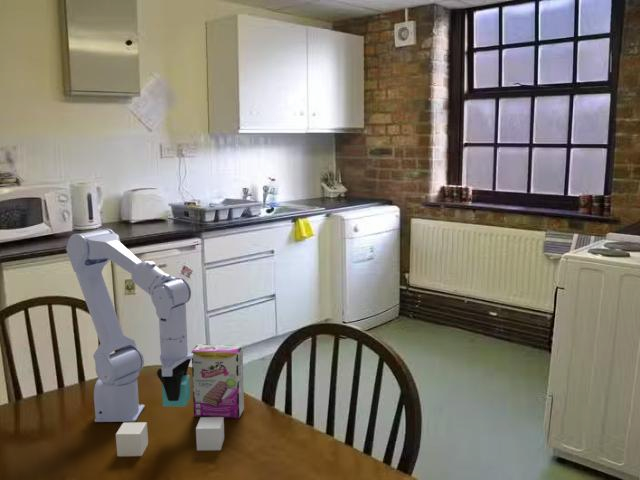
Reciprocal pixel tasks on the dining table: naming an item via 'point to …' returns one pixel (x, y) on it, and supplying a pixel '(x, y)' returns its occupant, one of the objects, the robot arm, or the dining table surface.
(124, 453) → the offwhite block
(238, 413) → the candy bar box
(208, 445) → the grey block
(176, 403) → the teal block
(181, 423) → the dining table surface
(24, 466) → the dining table surface
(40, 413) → the dining table surface
